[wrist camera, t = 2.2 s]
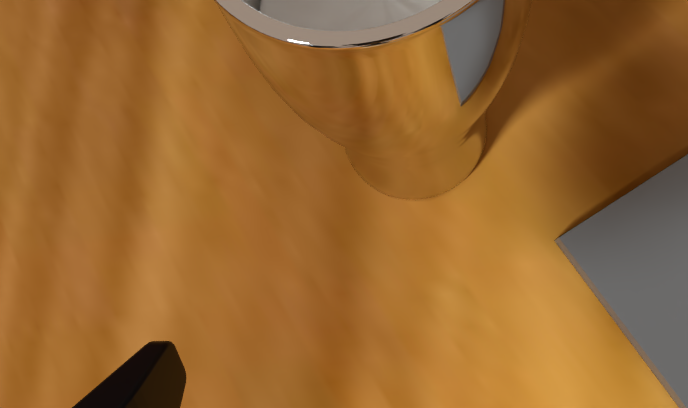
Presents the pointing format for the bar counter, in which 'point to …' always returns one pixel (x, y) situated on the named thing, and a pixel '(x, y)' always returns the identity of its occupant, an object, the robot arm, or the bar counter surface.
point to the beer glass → (388, 78)
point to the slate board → (643, 270)
